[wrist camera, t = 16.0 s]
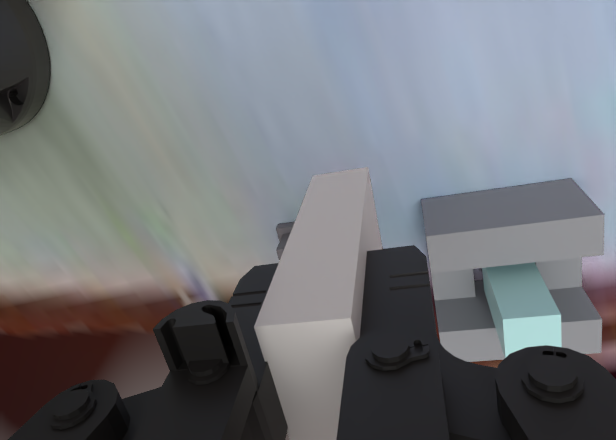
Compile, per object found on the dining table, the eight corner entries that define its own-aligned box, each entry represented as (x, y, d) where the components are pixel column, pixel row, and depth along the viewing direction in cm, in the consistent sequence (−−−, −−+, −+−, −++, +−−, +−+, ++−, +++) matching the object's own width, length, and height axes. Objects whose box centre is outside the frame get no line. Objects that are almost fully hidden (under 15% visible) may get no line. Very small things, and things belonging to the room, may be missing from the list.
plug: (478, 271, 46) (505, 361, 35) (475, 236, 44) (502, 319, 33) (520, 267, 45) (561, 358, 34) (518, 231, 43) (561, 314, 33)
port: (436, 317, 48) (443, 368, 42) (420, 199, 43) (426, 236, 37) (572, 305, 46) (601, 357, 39) (571, 178, 41) (604, 214, 34)
